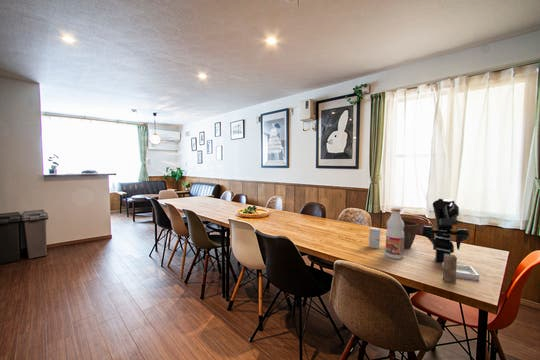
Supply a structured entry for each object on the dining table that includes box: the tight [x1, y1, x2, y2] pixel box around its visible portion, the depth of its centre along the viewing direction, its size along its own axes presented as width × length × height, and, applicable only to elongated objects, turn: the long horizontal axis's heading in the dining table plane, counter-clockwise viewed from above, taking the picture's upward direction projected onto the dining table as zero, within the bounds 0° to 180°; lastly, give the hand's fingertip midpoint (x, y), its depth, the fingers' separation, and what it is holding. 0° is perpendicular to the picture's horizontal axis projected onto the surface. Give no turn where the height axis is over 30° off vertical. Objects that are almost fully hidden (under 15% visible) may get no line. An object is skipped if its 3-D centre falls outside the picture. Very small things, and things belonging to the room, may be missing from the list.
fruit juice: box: [385, 207, 405, 260], centre depth 145 cm, size 9×9×28 cm
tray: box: [441, 262, 480, 281], centre depth 123 cm, size 12×12×2 cm
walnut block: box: [442, 253, 458, 285], centre depth 114 cm, size 4×4×12 cm
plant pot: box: [402, 219, 419, 249], centre depth 164 cm, size 15×15×16 cm
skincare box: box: [368, 227, 381, 249], centre depth 163 cm, size 6×4×12 cm
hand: (446, 248), depth 119 cm, fingers open, 9 cm apart
